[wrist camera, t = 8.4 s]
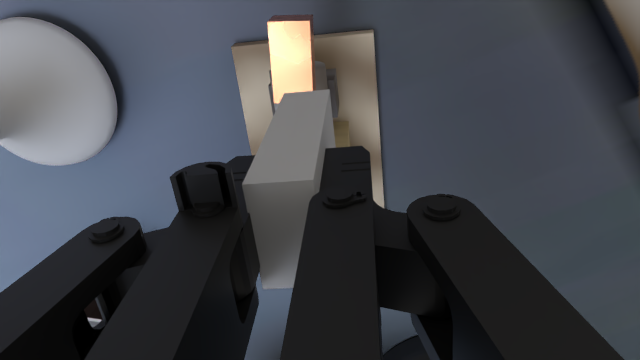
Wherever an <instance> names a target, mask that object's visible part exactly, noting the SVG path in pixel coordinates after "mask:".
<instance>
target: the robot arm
mask: <svg viewBox="0 0 640 360" xmlns="http://www.w3.org/2000/svg"><path fill="white" fill-rule="evenodd" d="M170 180H171V183H172V187H173V191H174V195H175V198H176V202H177V206H178V209H179V212H178V214H177V215H176V217H175V218H174V220H173V221H172V223H171V225H170V226H169V227H168V228H165V229H161V230H156V231H152V232H148V233H143V231H142V228H141V225H140V223H139V222H138V221H137V220H136V219H135V218H130V217H111V218H110V219H109V218H107V219H103V220H101V221H100V222H98V223H95V224H93V225H91V226H89V227H88V228H86V229H84V230H83V231H81V232H80V233H79V234H77V235H76V236H75V237H73V238H72V239H71V240H69V241H68V242H67V243H65V244H64V245H63V246H61V247H60V248H59V249H57V250H56V251H55V252H54V253H52V254H51V255H50V256H48V257H47V258H46V259H44V260H43V261H42V262H40V263H39V264H38V265H36V266H35V267H34V268H32V269H31V270H30V271H29V272H27V273H26V274H25V275H23V276H22V277H21V278H19V279H18V280H17V281H15V282H14V283H13V284H11V285H10V286H9V287H7V288H6V289H5V290H4V291H2V292H1V293H0V360H244V358H245V354H246V350H247V346H248V342H249V339H250V335H251V331H252V327H253V323H254V320H255V316H256V312H257V308H258V304H259V300H258V293H257V288H256V280H257V277H258V273H259V272H260V277H261V282H262V287H263V289H280V288H293V292H292V298H291V303H290V308H289V314H288V319H287V325H286V330H285V335H284V341H283V346H282V351H281V357H280V360H624V359H623V358H622V357H621V356H620V355H619V354H618V353H617V352H616V351H615V350H614V349H613V348H612V347H611V346H610V345H609V343H608V342H607V341H606V340H605V339H604V338H603V337H602V336H601V335H600V334H599V333H598V332H597V331H596V330H595V329H594V328H593V327H592V326H591V325H590V324H589V323H588V322H587V321H586V320H585V319H584V318H583V317H582V316H581V315H580V314H579V312H578V311H577V310H576V309H575V308H574V307H573V306H572V305H571V304H570V303H569V302H568V301H567V300H566V299H565V298H564V297H563V296H562V295H561V294H560V293H559V292H558V291H557V290H556V289H555V288H554V287H553V286H552V285H551V284H550V283H549V281H548V280H547V279H546V278H545V277H544V276H543V275H542V274H541V273H540V272H539V271H538V270H537V269H536V268H535V267H534V266H533V265H532V264H531V263H530V262H529V261H528V260H527V259H526V258H525V257H524V256H523V255H522V254H521V253H520V251H519V250H518V249H517V248H516V247H515V246H514V245H513V244H512V243H511V242H510V241H509V240H508V239H507V238H506V237H505V236H504V235H503V234H502V233H501V232H500V231H499V230H498V229H497V228H496V227H495V226H494V225H493V224H492V223H491V222H490V220H489V219H488V218H487V217H486V216H485V215H484V214H483V213H482V212H481V211H480V210H479V209H478V208H477V207H476V206H475V205H474V204H472V203H471V202H469V201H468V200H466V199H464V198H461V197H457V196H454V195H449V194H447V195H445V194H437V195H429V196H426V197H422V198H419V199H417V200H415V201H414V202H412V203H411V204H410V205H409V207H408V209H407V213H400V212H395V211H390V210H387V209H385V208H382V207H381V206H379V205H377V203H376V202H375V201H374V200H373V189H372V175H371V161H370V152H369V151H368V150H366V149H365V148H364V147H363V146H350V147H337V148H336V146H335V136H334V127H333V117H332V108H331V98H330V89H327V90H316V91H305V92H294V93H284V94H283V97H282V99H281V101H280V103H279V105H278V107H277V110H276V112H275V114H274V116H273V118H272V120H271V123H270V125H269V127H268V129H267V131H266V133H265V136H264V138H263V140H262V142H261V144H260V146H259V149H258V151H257V153H256V155H251V156H238V157H235V158H233V159H232V160H231V161H229V162H228V163H222V162H204V163H197V164H194V165H191V166H187V167H185V168H183V169H181V170H179V171H176V172H175V173H174V174H173V175H172V176H170ZM94 299H95V300H96V303H97V305H98V308H99V310H100V313H101V315H102V318H103V319H102V321H101V322H100V323H99V324H97V325H96V326H94V327H92V326H91V325H90V323H89V321H88V318H87V316H86V313H85V311H84V309H85V308H86V307H87V306H88V305H89V304H90V303H91V302H92V301H93V300H94ZM380 307H384V308H388V309H393V310H398V311H403V312H408V313H411V318H412V323H413V325H414V327H415V329H416V331H417V333H418V337H415V338H412V339H409V340H407V341H405V342H403V343H401V344H399V345H397V346H396V347H394V348H393V349H391V350H390V351H389V352H387V353H386V354H385V355H384V356H383V352H382V334H381V312H380Z"/></svg>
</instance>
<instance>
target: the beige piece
mask: <svg viewBox="0 0 640 360" xmlns="http://www.w3.org/2000/svg"><path fill="white" fill-rule="evenodd" d="M231 48H232V54H233V59H234V64H235V69H236V75H237V80H238V85H239V90H240V96H241V101H242V106H243V112H244V117H245V122H246V127H247V133H248V138H249V143H250V148H251V154H252V155H256V153H257V151H258V149H259V146H260V144H261V142H262V140H263V138H264V136H265V133H266V131H267V129H268V127H269V125H270V123H271V120H272V118H273V116H274V114H275V112H276V110H277V107H278V105H279V103H274V97H273V85H272V72H271V60H270V48H269V40H264V41H254V42H244V43H235V44H234V45H233V46H232V47H231ZM314 56H315V81H316V90H327V89H330V98H331V108H332V117H333V127H334V136H335V146H336V148H337V147H350V146H363V147H364V148H365V149H366V150H368V151H369V152H370V161H371V175H372V189H373V200H374V201H375V202H376V203H377V205H379V206H381V207H382V208H384V194H383V178H382V162H381V146H380V129H379V113H378V97H377V81H376V65H375V48H374V32H373V29H371V30H362V31H352V32H342V33H332V34H322V35H314Z"/></svg>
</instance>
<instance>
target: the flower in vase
mask: <svg viewBox="0 0 640 360" xmlns="http://www.w3.org/2000/svg"><path fill="white" fill-rule="evenodd" d="M116 121H117V101H116V95H115V92H114V88H113V85H112V83H111V80H110V78H109V76H108V74H107V72H106V70H105V68H104V67H103V65H102V64H101V62H100V61H99V60H98V58H97V57H96V56H95V55H94V53H93V52H92V51H91V50H90V49H89V48H88V47H87V46H86V45H85V44H84V43H83V42H82V41H80V40H79V39H78V38H76V37H75V36H74V35H72V34H71V33H69V32H68V31H66V30H64V29H63V28H61V27H59V26H57V25H54V24H52V23H49V22H46V21H43V20H40V19H35V18H30V17H12V18H6V19H2V20H0V145H1V146H3V147H4V148H6V149H7V150H9V151H10V152H12V153H14V154H16V155H17V156H19V157H21V158H24V159H26V160H29V161H32V162H35V163H39V164H44V165H54V166H58V165H69V164H75V163H80V162H83V161H86V160H88V159H90V158H92V157H94V156H95V155H96V154H98V153H99V152H100V151H101V150H102V149H103V148H104V147H105V146H106V145H107V144H108V142H109V141H110V139H111V137H112V135H113V133H114V130H115V126H116Z"/></svg>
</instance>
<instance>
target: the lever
mask: <svg viewBox="0 0 640 360" xmlns="http://www.w3.org/2000/svg"><path fill="white" fill-rule="evenodd" d="M267 23H268V36H269V48H270V60H271V72H272V85H273V97H274V103H280V101H281V99H282V97H283V94H284V93H294V92H305V91H316V81H315V56H314V32H313V15H281V16H272V17H271V19H270V20H269V21H268V22H267Z"/></svg>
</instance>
